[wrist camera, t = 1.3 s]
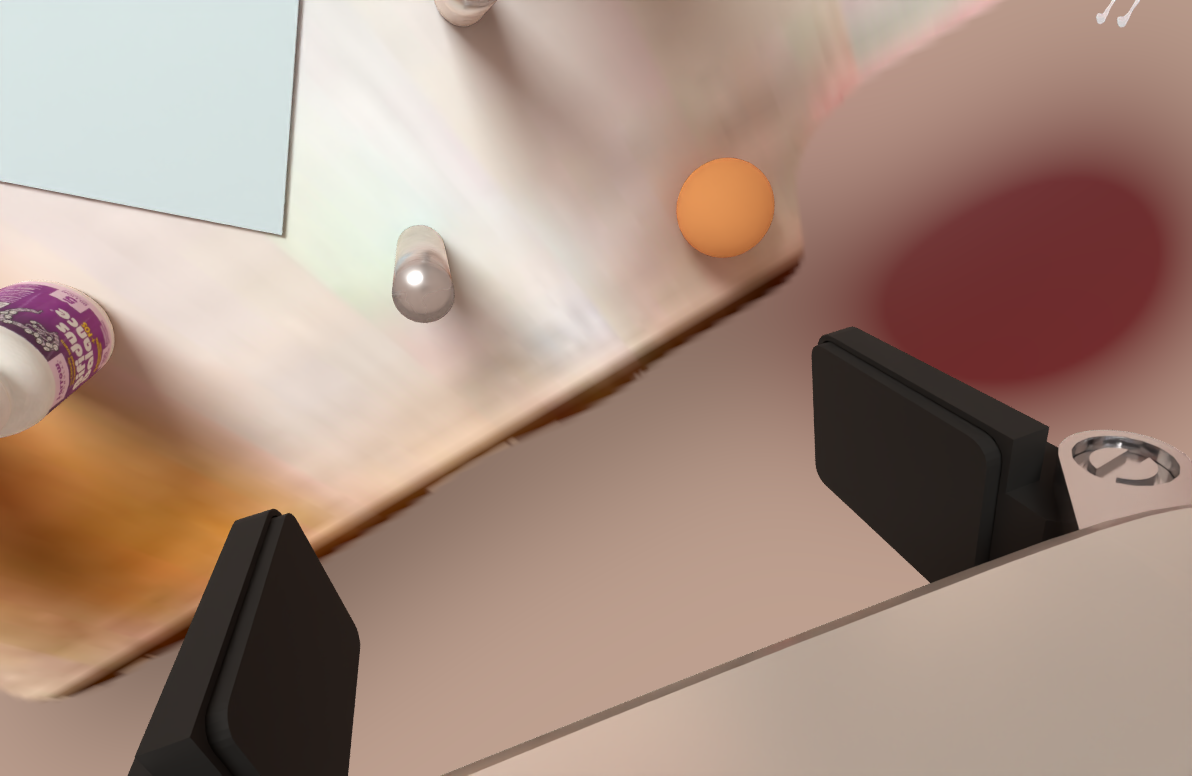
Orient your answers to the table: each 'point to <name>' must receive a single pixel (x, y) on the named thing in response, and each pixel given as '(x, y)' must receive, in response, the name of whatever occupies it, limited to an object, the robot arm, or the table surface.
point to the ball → (725, 207)
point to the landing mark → (151, 103)
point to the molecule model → (1120, 20)
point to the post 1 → (422, 275)
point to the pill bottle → (46, 349)
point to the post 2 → (463, 10)
